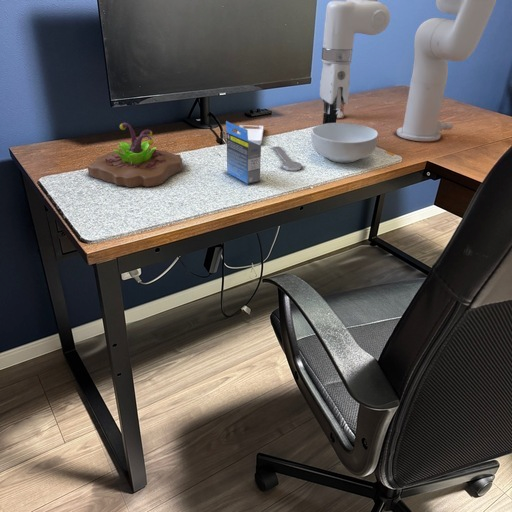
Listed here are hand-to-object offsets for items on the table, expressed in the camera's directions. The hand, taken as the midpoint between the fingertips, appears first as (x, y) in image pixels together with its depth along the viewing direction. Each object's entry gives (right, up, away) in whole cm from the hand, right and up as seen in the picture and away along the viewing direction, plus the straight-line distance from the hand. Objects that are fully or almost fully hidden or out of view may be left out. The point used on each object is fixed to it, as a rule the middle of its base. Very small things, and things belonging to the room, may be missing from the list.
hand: (328, 128), depth 132 cm
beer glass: (+7, +12, +31) cm, 34 cm away
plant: (-48, -15, -17) cm, 53 cm away
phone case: (-22, 0, +8) cm, 23 cm away
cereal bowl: (+2, -10, -6) cm, 12 cm away
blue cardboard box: (-23, -17, -19) cm, 34 cm away
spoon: (-12, -10, -8) cm, 18 cm away
